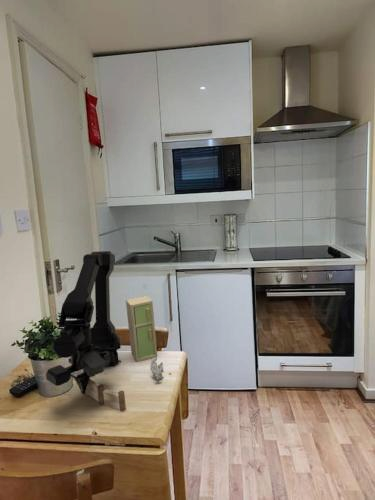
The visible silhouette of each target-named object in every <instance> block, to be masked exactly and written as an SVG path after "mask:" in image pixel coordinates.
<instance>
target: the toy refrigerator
mask: <svg viewBox="0 0 375 500" xmlns="http://www.w3.org/2000/svg"><path fill="white" fill-rule="evenodd" d="M153 305H154V303H153V300H152V299H151V298H150V297H149V296H148V295H145V296H138V297H134V298H133V297H132V298H128V299H126V300H125V306H126V313H127V314H126V316H127V322H128V334H129V343H130V353H131V356H132V358H133V359H134V361H135V362H136V363H138V362H142V361H145V360H149V359H153V358H158V347H157V337H156V328H155V325H156V324H155V318H154V317H155V316H154V306H153Z"/></svg>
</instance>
